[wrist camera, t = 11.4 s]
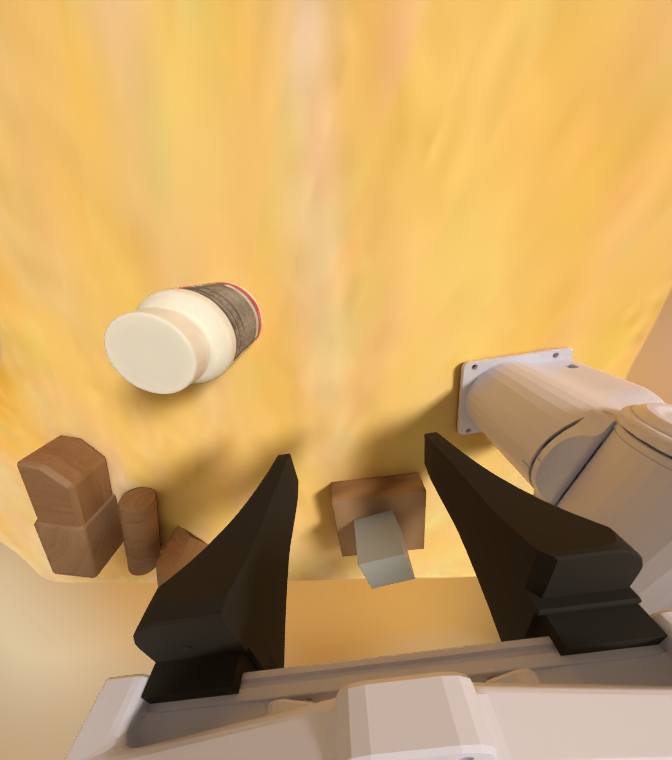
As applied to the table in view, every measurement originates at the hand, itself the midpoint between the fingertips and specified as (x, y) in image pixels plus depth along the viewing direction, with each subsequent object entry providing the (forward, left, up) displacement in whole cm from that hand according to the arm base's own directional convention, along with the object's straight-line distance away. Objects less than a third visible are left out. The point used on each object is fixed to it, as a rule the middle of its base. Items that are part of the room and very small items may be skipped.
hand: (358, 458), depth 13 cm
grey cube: (-1, +18, -8) cm, 20 cm away
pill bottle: (+9, -7, -11) cm, 15 cm away
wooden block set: (+25, +13, -11) cm, 31 cm away
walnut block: (-1, +18, -11) cm, 21 cm away
